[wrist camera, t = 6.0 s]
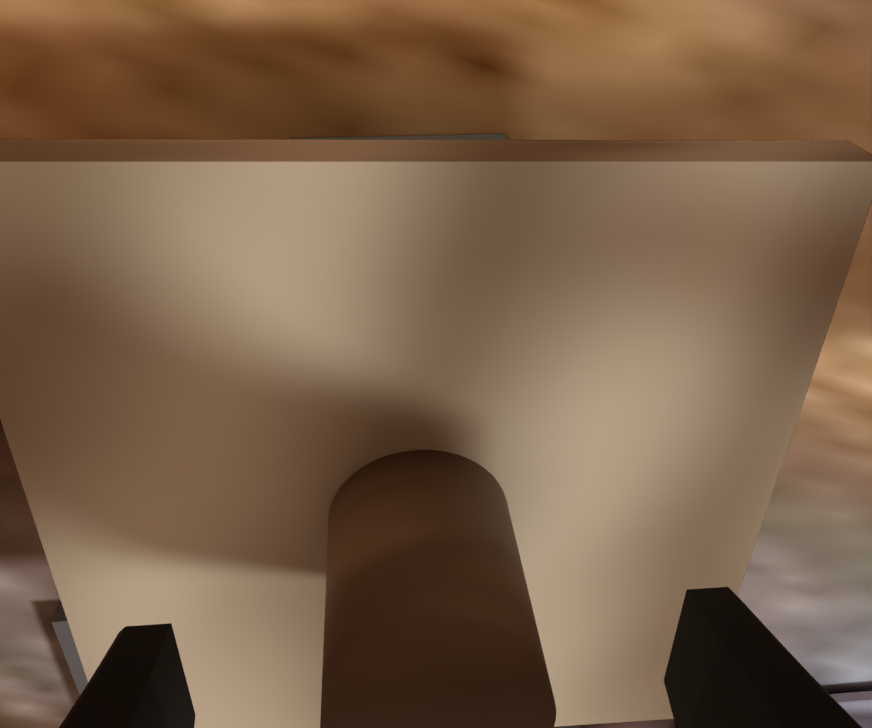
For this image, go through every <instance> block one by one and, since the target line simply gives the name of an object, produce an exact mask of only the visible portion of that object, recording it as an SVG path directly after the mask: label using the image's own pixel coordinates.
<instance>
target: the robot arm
mask: <svg viewBox="0 0 872 728" xmlns="http://www.w3.org/2000/svg"><path fill="white" fill-rule="evenodd" d="M664 684H665V688H666V691H667V695H668V699H669V703H670V707H671V710H672V714H673V718H674V721H675V725H676V728H872V691H862V692H849V693H837V694H829V693H828V692H827V691H826V690H825V689H824V688H823V687H822V686H821V685H820V684H819V683H818V682H817V681H816V680H815V679H814V678H813V677H812V676H811V675H810V674H809V673H808V672H807V671H806V670H805V668H804V667H803V666H802V665H801V664H800V663H799V662H798V661H797V660H796V659H795V658H794V657H793V656H792V655H791V654H790V652H789V651H788V650H787V649H786V648H785V647H784V646H783V645H782V644H781V643H780V642H779V641H778V640H777V639H776V637H775V636H774V635H773V634H772V633H771V632H770V631H769V630H768V629H767V628H766V627H765V626H764V624H763V623H762V622H761V621H760V620H759V619H758V618H757V617H756V616H755V615H754V614H753V613H752V611H751V610H750V609H749V608H748V607H747V606H746V605H745V604H744V603H743V602H742V601H741V600H740V598H739V597H738V596H737V595H736V594H735V593H734V592H733V591H732V590H731V589H730V588H729V587H717V588H702V589H687V590H686V594H685V598H684V602H683V606H682V610H681V613H680V617H679V621H678V625H677V629H676V633H675V637H674V641H673V645H672V649H671V653H670V657H669V661H668V665H667V669H666V673H665V676H664ZM194 724H195V711H194V707H193V704H192V700H191V696H190V692H189V688H188V685H187V681H186V677H185V673H184V670H183V666H182V662H181V658H180V654H179V651H178V647H177V643H176V639H175V635H174V632H173V628H172V624H171V623H169V624H154V625H139V626H125V627H124V628H123V629H122V630H121V631H120V632H119V633H118V635H117V636H116V638H115V640H114V641H113V643H112V645H111V646H110V648H109V650H108V651H107V653H106V655H105V656H104V658H103V660H102V661H101V663H100V665H99V666H98V668H97V669H96V671H95V673H94V674H93V676H92V677H91V679H90V681H89V682H88V684H87V685H86V687H85V689H84V690H83V692H82V693H81V695H80V697H79V698H78V700H77V701H76V703H75V704H74V706H73V707H72V709H71V710H70V712H69V713H68V715H67V717H66V718H65V720H64V721H63V723H62V724H61V726H60V727H59V728H194Z"/></svg>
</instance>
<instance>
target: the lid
mask: <svg viewBox="0 0 872 728" xmlns="http://www.w3.org/2000/svg"><path fill="white" fill-rule="evenodd" d="M871 202H872V154H871V153H869V152H867V151H865V150H863V149H862V148H860V147H858V146H856V145H854V144H852V143H851V142H849V141H707V140H276V139H0V420H1V423H2V426H3V429H4V432H5V435H6V438H7V441H8V444H9V447H10V450H11V453H12V456H13V459H14V462H15V465H16V468H17V471H18V474H19V477H20V480H21V483H22V486H23V489H24V492H25V495H26V498H27V501H28V504H29V507H30V510H31V513H32V516H33V519H34V522H35V525H36V528H37V531H38V534H39V537H40V540H41V543H42V546H43V549H44V552H45V555H46V558H47V561H48V564H49V567H50V570H51V573H52V576H53V579H54V582H55V585H56V588H57V591H58V594H59V597H60V600H61V603H62V606H63V609H64V612H65V615H66V618H67V621H68V624H69V627H70V630H71V633H72V636H73V639H74V642H75V645H76V648H77V651H78V654H79V657H80V660H81V662H82V665H83V668H84V671H85V674H86V677H87V680H88V682H89V681H90V679H91V677H92V676H93V674H94V673H95V671H96V669H97V668H98V666H99V665H100V663H101V661H102V660H103V658H104V656H105V655H106V653H107V651H108V650H109V648H110V646H111V645H112V643H113V641H114V640H115V638H116V636H117V635H118V633H119V632H120V631H121V630H122V629H123V628H124V627H125V626H139V625H154V624H169V623H171V624H172V628H173V632H174V635H175V639H176V643H177V647H178V651H179V654H180V658H181V662H182V666H183V670H184V673H185V677H186V681H187V685H188V688H189V692H190V696H191V700H192V704H193V707H194V711H195V724H194V728H554V727H557V726H572V725H587V724H602V723H618V722H633V721H648V720H663V719H674V718H673V714H672V710H671V707H670V703H669V699H668V695H667V691H666V688H665V684H664V676H665V673H666V669H667V665H668V661H669V657H670V653H671V649H672V645H673V641H674V637H675V633H676V629H677V625H678V621H679V617H680V613H681V610H682V606H683V602H684V598H685V594H686V590H687V589H702V588H717V587H729V588H730V589H731V590H732V591H733V592H734V593H735V594H736V595H738V593H739V590H740V587H741V584H742V581H743V578H744V575H745V572H746V569H747V566H748V563H749V560H750V557H751V554H752V551H753V549H754V546H755V543H756V540H757V537H758V534H759V531H760V528H761V525H762V522H763V519H764V516H765V513H766V510H767V507H768V504H769V502H770V499H771V496H772V493H773V490H774V487H775V484H776V481H777V478H778V475H779V472H780V469H781V466H782V463H783V460H784V457H785V455H786V452H787V449H788V446H789V443H790V440H791V437H792V434H793V431H794V428H795V425H796V422H797V419H798V416H799V413H800V411H801V408H802V405H803V402H804V399H805V396H806V393H807V390H808V387H809V384H810V381H811V378H812V375H813V372H814V369H815V366H816V364H817V361H818V358H819V355H820V352H821V349H822V346H823V343H824V340H825V337H826V334H827V331H828V328H829V325H830V322H831V319H832V317H833V314H834V311H835V308H836V305H837V302H838V299H839V296H840V293H841V290H842V287H843V284H844V281H845V278H846V275H847V272H848V270H849V267H850V264H851V261H852V258H853V255H854V252H855V249H856V246H857V243H858V240H859V237H860V234H861V231H862V228H863V226H864V223H865V220H866V217H867V214H868V211H869V208H870V205H871Z"/></svg>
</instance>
